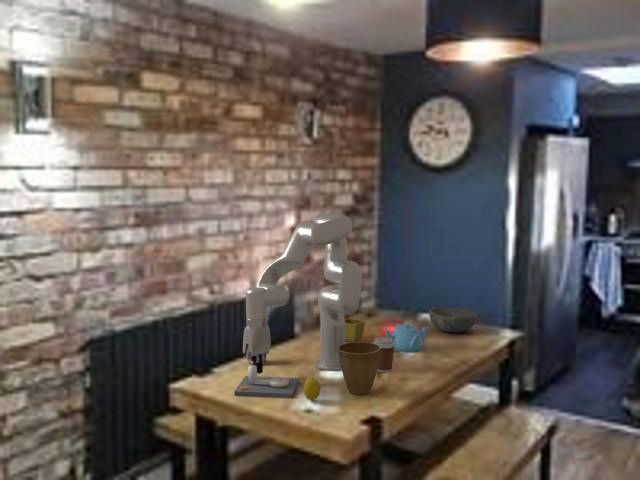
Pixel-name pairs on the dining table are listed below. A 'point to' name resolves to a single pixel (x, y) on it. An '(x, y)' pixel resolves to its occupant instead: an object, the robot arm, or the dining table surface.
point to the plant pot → (359, 365)
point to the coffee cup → (385, 353)
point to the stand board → (266, 388)
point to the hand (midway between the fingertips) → (258, 372)
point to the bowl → (452, 318)
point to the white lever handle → (272, 382)
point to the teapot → (407, 338)
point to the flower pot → (353, 329)
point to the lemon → (312, 389)
